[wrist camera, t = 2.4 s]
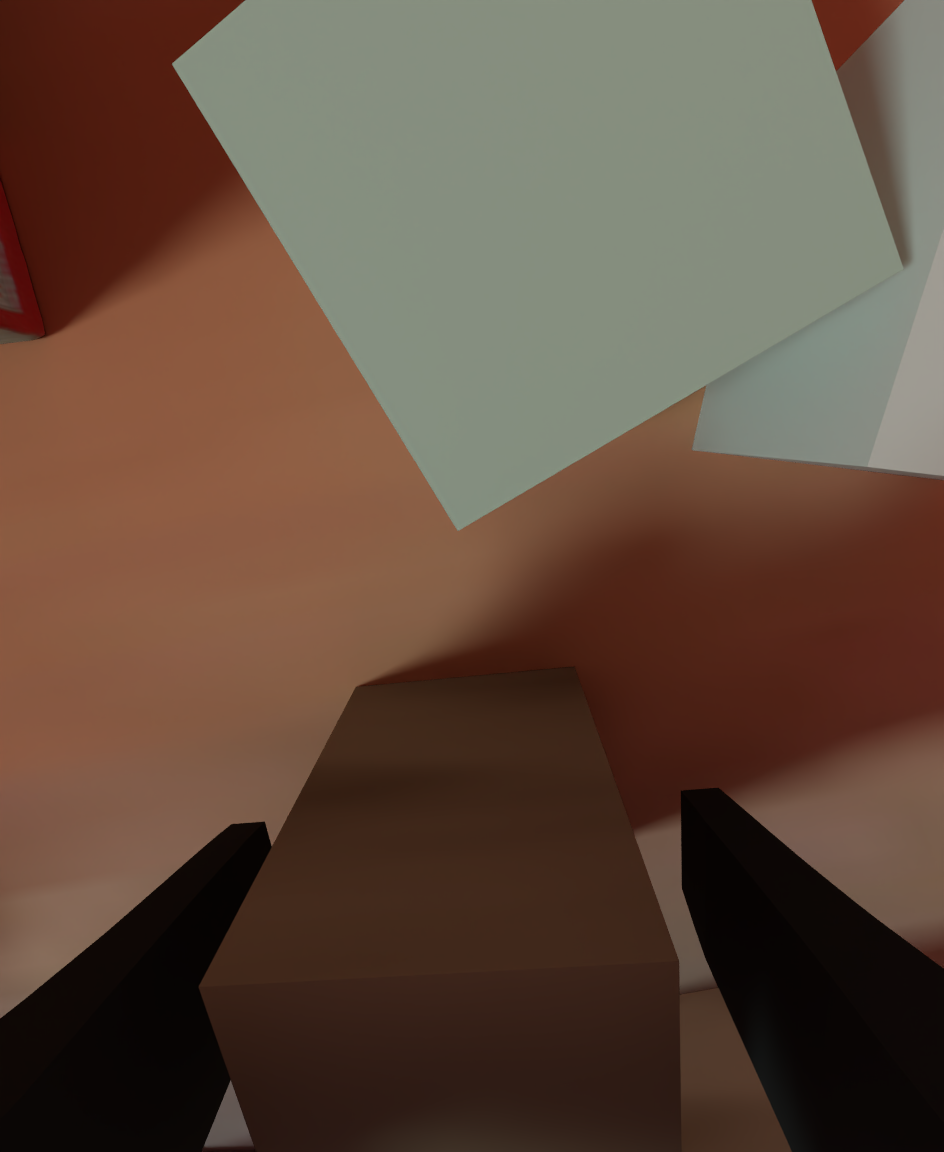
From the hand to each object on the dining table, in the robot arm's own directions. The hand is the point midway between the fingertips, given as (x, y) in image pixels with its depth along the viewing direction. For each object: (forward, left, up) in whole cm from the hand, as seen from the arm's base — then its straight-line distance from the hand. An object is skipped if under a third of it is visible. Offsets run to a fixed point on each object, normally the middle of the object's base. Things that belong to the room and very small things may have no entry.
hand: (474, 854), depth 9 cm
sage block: (+9, -2, -2) cm, 9 cm away
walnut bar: (0, 0, -2) cm, 2 cm away
